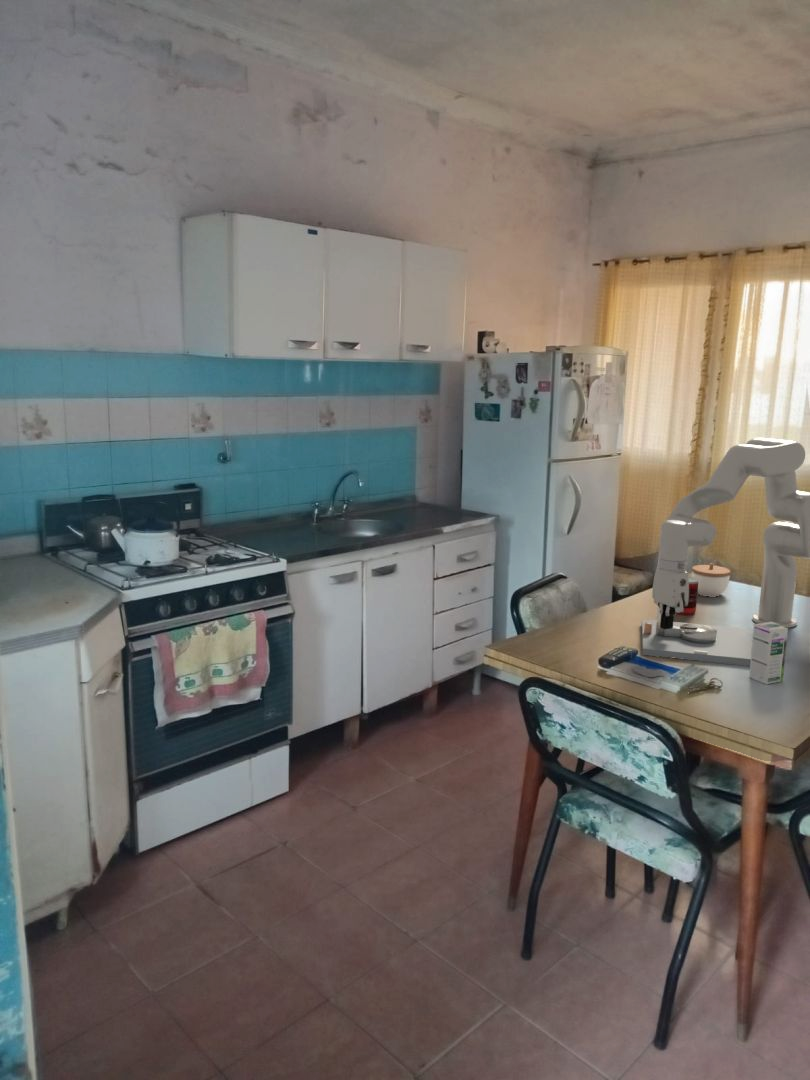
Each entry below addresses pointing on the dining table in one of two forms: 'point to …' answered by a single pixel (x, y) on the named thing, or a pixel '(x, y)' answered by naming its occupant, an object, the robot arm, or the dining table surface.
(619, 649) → the dining table surface
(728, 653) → the board
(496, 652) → the dining table surface
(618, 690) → the dining table surface
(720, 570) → the lidded bowl
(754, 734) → the dining table surface
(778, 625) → the syrup box
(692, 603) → the canned food
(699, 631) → the grey piece
